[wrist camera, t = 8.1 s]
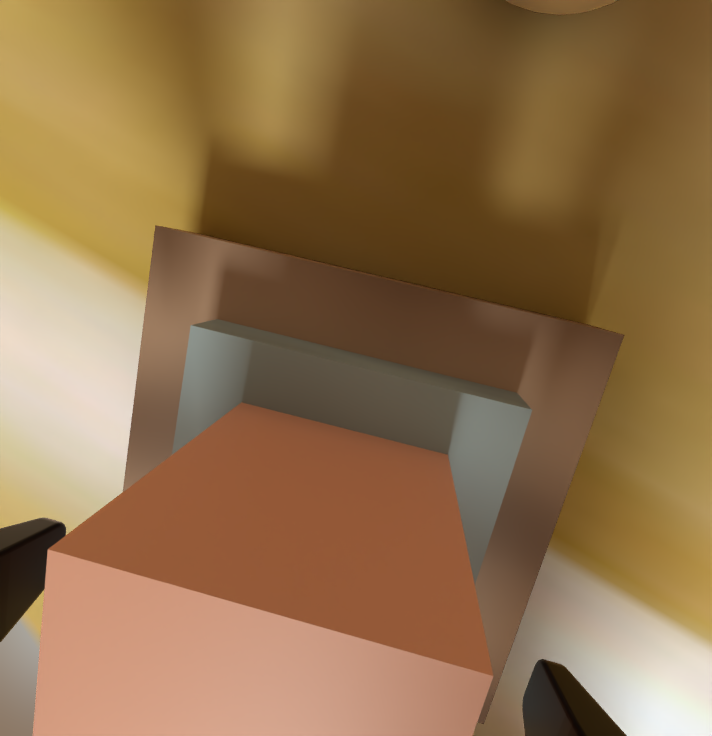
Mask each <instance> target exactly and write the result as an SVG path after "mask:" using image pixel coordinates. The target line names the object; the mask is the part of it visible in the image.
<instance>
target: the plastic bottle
mask: <svg viewBox="0 0 712 736" xmlns="http://www.w3.org/2000/svg"><path fill="white" fill-rule="evenodd" d="M506 1H507V2H509V3H510V4H513V5H516V6H519V7H521V8H524V9H527V10H530V11H533V12H537V13H546V14H555V15H565V14H574V13H583V12H588V11H591V10H594V9H597V8H600V7H603V6H606V5H609V4H613V3H614V2H616V1H618V0H506Z"/></svg>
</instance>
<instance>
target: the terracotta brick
mask: <svg viewBox="0 0 712 736" xmlns="http://www.w3.org/2000/svg"><path fill="white" fill-rule="evenodd" d="M492 679H493V671H492V667H491V662H490V657H489V652H488V647H487V642H486V637H485V633H484V628H483V623H482V618H481V613H480V608H479V603H478V598H477V594H476V589H475V584H474V579H473V574H472V569H471V564H470V560H469V555H468V550H467V545H466V540H465V535H464V530H463V526H462V521H461V516H460V511H459V506H458V501H457V496H456V492H455V487H454V482H453V477H452V472H451V467H450V462H449V457H448V455H447V454H443V453H439V452H435V451H431V450H427V449H423V448H419V447H415V446H411V445H407V444H403V443H400V442H396V441H392V440H388V439H384V438H380V437H376V436H372V435H368V434H364V433H360V432H356V431H352V430H348V429H344V428H340V427H337V426H333V425H329V424H325V423H321V422H317V421H313V420H309V419H305V418H301V417H297V416H293V415H289V414H285V413H281V412H277V411H273V410H270V409H266V408H262V407H258V406H254V405H250V404H246V403H242V402H241V403H240V404H239V405H237V406H236V407H235V408H233V409H232V410H231V411H229V412H228V413H227V414H225V415H224V416H223V417H221V418H220V419H219V420H218V421H216V422H215V423H214V424H212V425H211V426H210V427H208V428H207V429H206V430H204V431H203V432H202V433H200V434H199V435H198V436H196V437H195V438H194V439H192V440H191V441H190V442H189V443H187V444H186V445H185V446H183V447H182V448H181V449H179V450H178V451H177V452H175V453H174V454H173V455H171V456H170V457H169V458H167V459H166V460H165V461H163V462H162V463H161V464H160V465H158V466H157V467H156V468H154V469H153V470H152V471H150V472H149V473H148V474H146V475H145V476H144V477H142V478H141V479H140V480H138V481H137V482H136V483H134V484H133V485H132V486H131V487H129V488H128V489H127V490H125V491H124V492H123V493H121V494H120V495H119V496H117V497H116V498H115V499H113V500H112V501H111V502H109V503H108V504H107V505H105V506H104V507H103V508H102V509H100V510H99V511H98V512H96V513H95V514H94V515H92V516H91V517H90V518H88V519H87V520H86V521H84V522H83V523H82V524H80V525H79V526H78V527H76V528H75V529H74V530H73V531H71V532H70V533H69V534H67V535H66V536H65V537H63V538H62V539H61V540H59V541H58V542H57V543H55V544H54V545H53V546H51V547H50V548H49V549H48V553H47V565H46V578H45V590H44V602H43V615H42V627H41V640H40V652H39V665H38V677H37V691H36V703H35V715H34V727H33V736H473V733H474V730H475V727H476V724H477V722H478V719H479V716H480V713H481V710H482V707H483V704H484V702H485V699H486V696H487V693H488V690H489V687H490V685H491V682H492Z"/></svg>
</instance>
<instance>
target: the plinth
mask: <svg viewBox="0 0 712 736" xmlns="http://www.w3.org/2000/svg"><path fill="white" fill-rule="evenodd" d="M623 337H624V335H622V334H619V333H615V332H612V331H608V330H605V329H601V328H598V327H594V326H591V325H587V324H584V323H579V322H575V321H571V320H566V319H562V318H558V317H554V316H549V315H545V314H541V313H536V312H532V311H528V310H524V309H519V308H515V307H511V306H506V305H502V304H498V303H494V302H489V301H485V300H481V299H477V298H472V297H468V296H464V295H459V294H455V293H451V292H447V291H442V290H438V289H434V288H429V287H425V286H421V285H417V284H412V283H408V282H404V281H400V280H395V279H391V278H387V277H382V276H378V275H374V274H370V273H365V272H361V271H357V270H352V269H348V268H344V267H340V266H335V265H331V264H327V263H322V262H318V261H314V260H310V259H305V258H301V257H297V256H293V255H288V254H284V253H280V252H275V251H271V250H267V249H263V248H258V247H254V246H250V245H245V244H241V243H237V242H233V241H228V240H224V239H220V238H216V237H211V236H207V235H203V234H198V233H193V232H188V231H183V230H177V229H172V228H167V227H161V226H156V225H155V234H154V242H153V250H152V258H151V266H150V274H149V283H148V291H147V299H146V307H145V315H144V324H143V332H142V340H141V348H140V356H139V364H138V373H137V381H136V389H135V397H134V405H133V413H132V422H131V430H130V438H129V446H128V454H127V462H126V471H125V479H124V487H123V492H124V491H125V490H127V489H128V488H129V487H131V486H132V485H133V484H134V483H136V482H137V481H138V480H140V479H141V478H142V477H144V476H145V475H146V474H148V473H149V472H150V471H152V470H153V469H154V468H156V467H157V466H158V465H160V464H161V463H162V462H163V461H165V460H166V459H167V458H169V457H170V456H171V455H173V454H174V453H175V452H177V451H178V450H179V449H181V448H182V447H183V446H185V445H186V444H187V443H189V442H190V441H191V440H192V439H194V438H195V437H196V436H198V435H199V434H200V433H202V432H203V431H204V430H206V429H207V428H208V427H210V426H211V425H212V424H214V423H215V422H216V421H218V420H219V419H220V418H221V417H223V416H224V415H225V414H227V413H228V412H229V411H231V410H232V409H233V408H235V407H236V406H237V405H239V404H240V403H241V402H242V403H246V404H250V405H254V406H258V407H262V408H266V409H270V410H273V411H277V412H281V413H285V414H289V415H293V416H297V417H301V418H305V419H309V420H313V421H317V422H321V423H325V424H329V425H333V426H337V427H340V428H344V429H348V430H352V431H356V432H360V433H364V434H368V435H372V436H376V437H380V438H384V439H388V440H392V441H396V442H400V443H403V444H407V445H411V446H415V447H419V448H423V449H427V450H431V451H435V452H439V453H443V454H447V455H448V457H449V462H450V467H451V472H452V477H453V482H454V487H455V492H456V496H457V501H458V506H459V511H460V516H461V521H462V526H463V530H464V535H465V540H466V545H467V550H468V555H469V560H470V564H471V569H472V574H473V579H474V584H475V589H476V594H477V598H478V603H479V608H480V613H481V618H482V623H483V628H484V633H485V637H486V642H487V647H488V652H489V657H490V662H491V667H492V671H493V679H492V682H491V685H490V687H489V690H488V693H487V696H486V699H485V702H484V704H483V707H482V710H481V713H480V716H479V719H478V722H479V723H482V724H484V722H485V719H486V716H487V713H488V711H489V708H490V705H491V702H492V700H493V697H494V694H495V691H496V688H497V686H498V683H499V680H500V677H501V675H502V672H503V669H504V666H505V664H506V661H507V658H508V655H509V653H510V650H511V647H512V644H513V641H514V639H515V636H516V633H517V630H518V628H519V625H520V622H521V619H522V617H523V614H524V611H525V608H526V606H527V603H528V600H529V597H530V594H531V592H532V589H533V586H534V583H535V581H536V578H537V575H538V572H539V570H540V567H541V564H542V561H543V559H544V556H545V553H546V550H547V547H548V545H549V542H550V539H551V536H552V534H553V531H554V528H555V525H556V523H557V520H558V517H559V514H560V512H561V509H562V506H563V503H564V501H565V498H566V495H567V492H568V489H569V487H570V484H571V481H572V478H573V476H574V473H575V470H576V467H577V465H578V462H579V459H580V456H581V454H582V451H583V448H584V445H585V442H586V440H587V437H588V434H589V431H590V429H591V426H592V423H593V420H594V418H595V415H596V412H597V409H598V407H599V404H600V401H601V398H602V395H603V393H604V390H605V387H606V384H607V382H608V379H609V376H610V373H611V371H612V368H613V365H614V362H615V360H616V357H617V354H618V351H619V348H620V346H621V343H622V340H623Z"/></svg>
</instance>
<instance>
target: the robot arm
mask: <svg viewBox="0 0 712 736" xmlns="http://www.w3.org/2000/svg"><path fill="white" fill-rule="evenodd" d="M65 536H66V527H65V525H64V524H63V523H62V522H59V521H55V520H52V519H48V518H39V519H35V520H31V521H27V522H24V523H20V524H16V525H12V526H8V527H4V528H1V529H0V642H1V641H2V640H3V639H4V637H5V636H6V635H7V634H8V633H9V631H10V630H11V629H12V628H13V627H14V625H15V624H16V623H17V622H18V621H19V619H20V618H21V617H22V616H23V615H24V613H25V612H26V611H27V610H28V608H29V607H30V606H31V605H32V604H33V602H34V601H35V600H36V599H37V598H38V596H39V595H40V594H41V593H42V591H43V590H44V589H45V578H46V565H47V553H48V549H49V548H50V547H51V546H53V545H54V544H55V543H57V542H58V541H59V540H61V539H62V538H63V537H65ZM523 719H524V728H525V736H626V734H625V733H624V732H623V731H622V730H621V729H620V728H619V727H618V726H617V724H616V723H615V722H614V721H613V720H612V719H611V718H610V717H609V715H608V714H607V713H606V712H605V711H604V710H603V709H602V708H601V706H600V705H599V704H598V703H597V702H596V701H595V700H594V699H593V698H592V696H591V695H590V694H589V693H588V692H587V691H586V690H585V689H584V687H583V686H582V685H581V684H580V683H579V682H578V681H577V680H576V678H575V677H574V676H573V675H572V674H571V673H570V672H569V671H568V669H567V668H566V667H564V666H563V665H561V664H558V663H555V662H551V661H548V660H544V659H541V660H539V661H538V662H537V663H536V665H535V667H534V670H533V672H532V675H531V678H530V680H529V683H528V686H527V688H526V691H525V694H524V697H523Z"/></svg>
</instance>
